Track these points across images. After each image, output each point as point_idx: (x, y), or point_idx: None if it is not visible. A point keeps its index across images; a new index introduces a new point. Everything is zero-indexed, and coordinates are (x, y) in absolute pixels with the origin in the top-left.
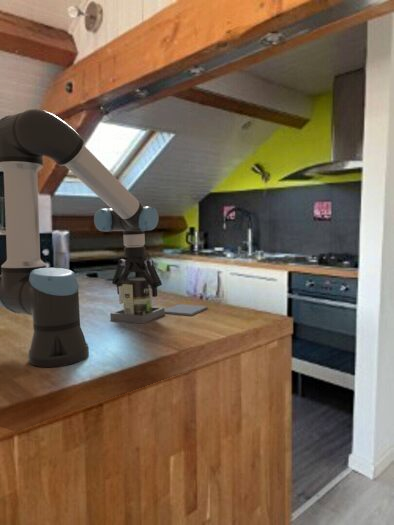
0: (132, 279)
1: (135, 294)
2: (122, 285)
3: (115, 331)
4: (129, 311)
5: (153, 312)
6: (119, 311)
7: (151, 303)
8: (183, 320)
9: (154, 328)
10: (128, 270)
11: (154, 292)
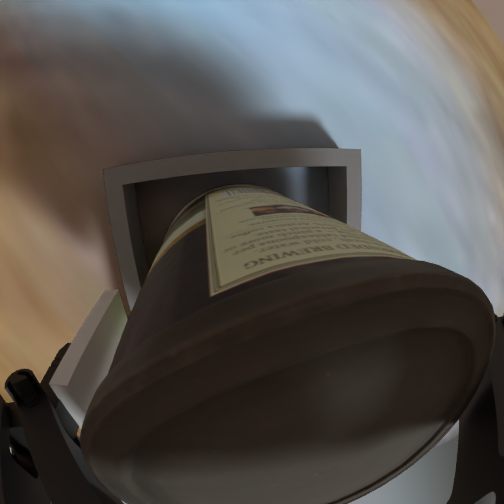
0: (386, 450)
1: (177, 247)
2: None
3: (156, 4)
4: (241, 191)
5: (125, 289)
6: (346, 217)
7: (99, 300)
8: (25, 308)
9: (24, 137)
10: (487, 501)
11: (53, 367)
